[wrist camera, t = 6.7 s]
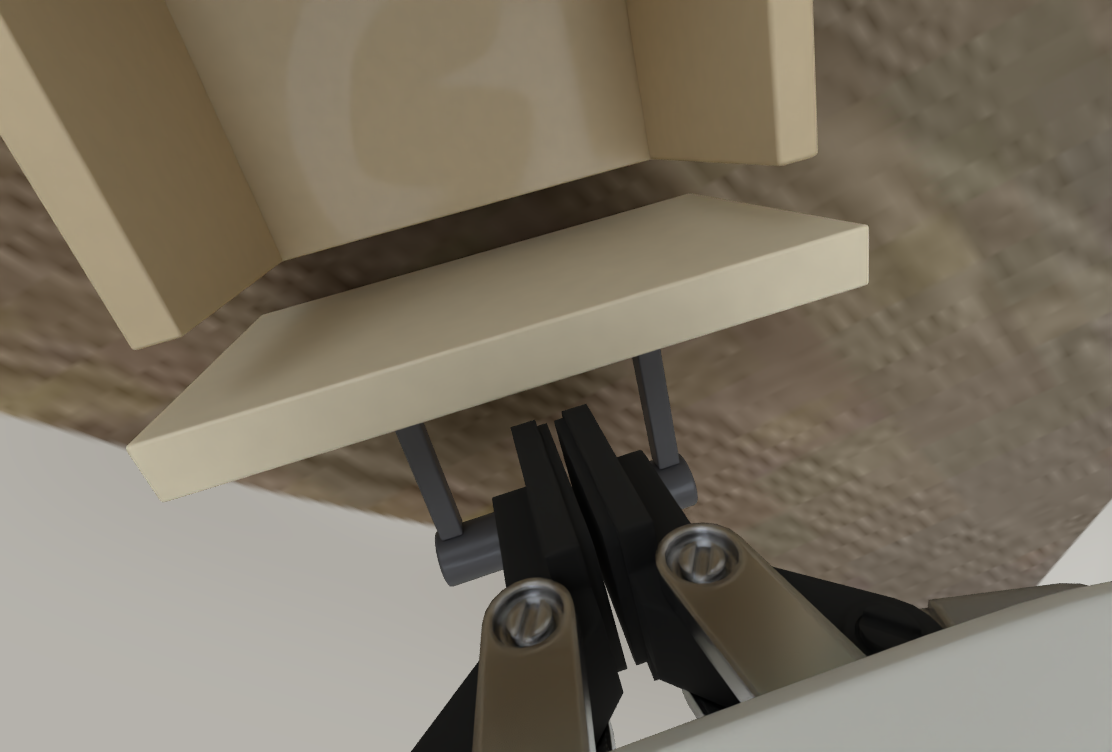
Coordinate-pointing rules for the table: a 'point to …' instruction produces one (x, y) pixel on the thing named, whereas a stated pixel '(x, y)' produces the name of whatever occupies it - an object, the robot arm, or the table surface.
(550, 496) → the robot arm
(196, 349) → the table surface
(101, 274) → the drawer
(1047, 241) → the table surface
